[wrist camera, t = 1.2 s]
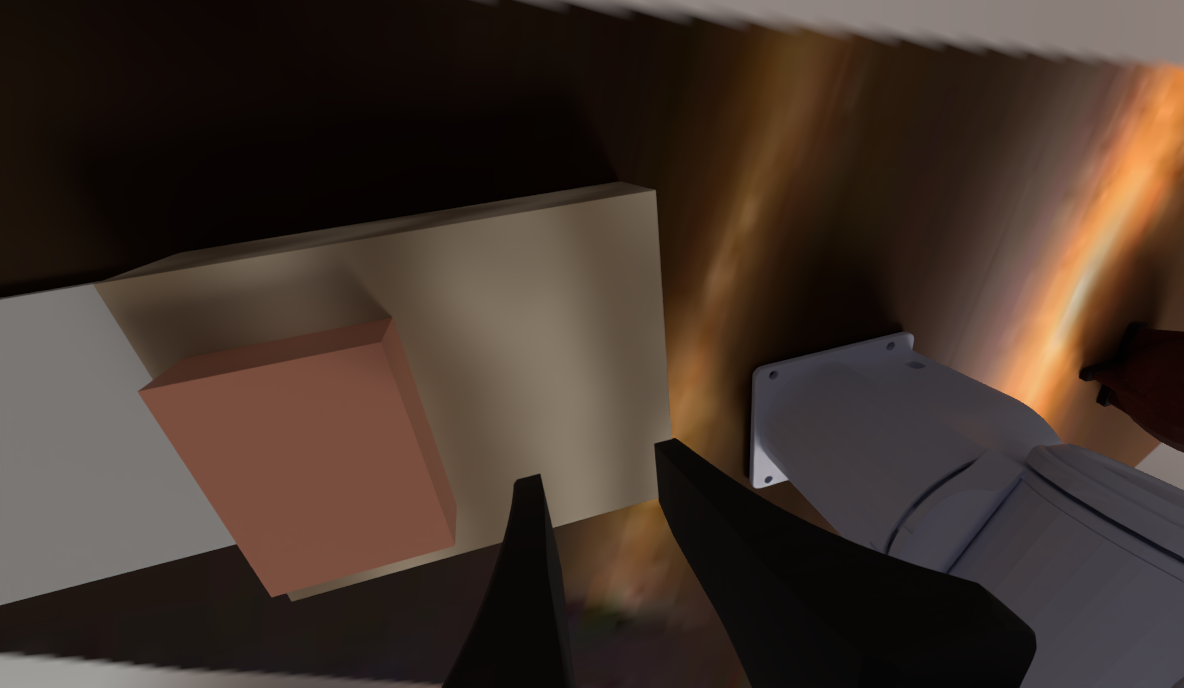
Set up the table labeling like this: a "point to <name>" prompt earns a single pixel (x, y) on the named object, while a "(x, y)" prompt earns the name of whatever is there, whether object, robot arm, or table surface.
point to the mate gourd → (1146, 381)
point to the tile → (311, 452)
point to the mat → (85, 453)
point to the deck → (461, 338)
